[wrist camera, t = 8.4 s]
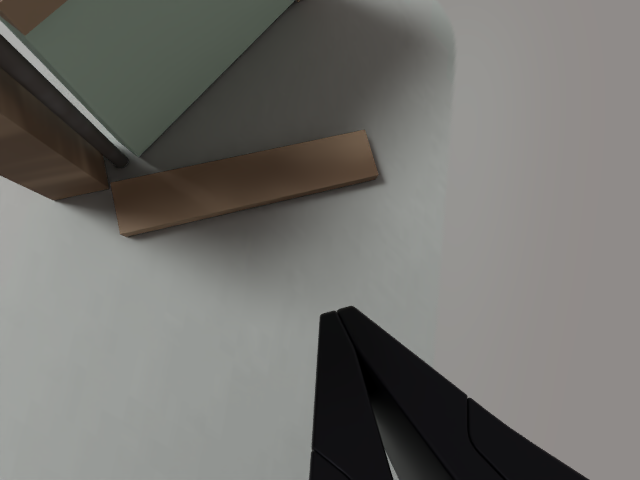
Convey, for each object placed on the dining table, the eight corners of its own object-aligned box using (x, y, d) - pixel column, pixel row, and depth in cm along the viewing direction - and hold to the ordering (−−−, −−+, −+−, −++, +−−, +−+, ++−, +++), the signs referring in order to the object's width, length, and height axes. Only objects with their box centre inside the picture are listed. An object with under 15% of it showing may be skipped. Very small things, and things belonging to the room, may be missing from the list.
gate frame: (375, 179, 23) (515, -9, 9) (62, 251, 20) (-391, 136, 7) (349, 93, 24) (442, -195, 10) (45, 151, 21) (-386, -135, 7)
